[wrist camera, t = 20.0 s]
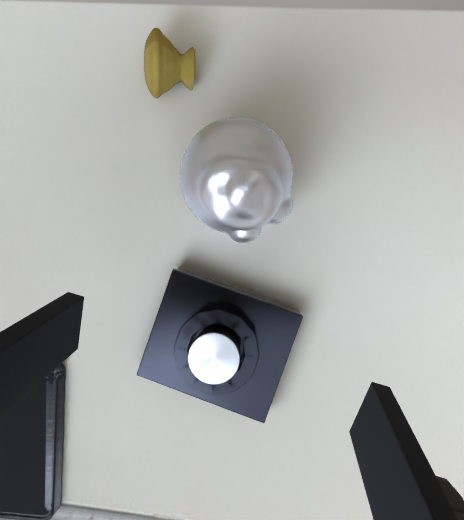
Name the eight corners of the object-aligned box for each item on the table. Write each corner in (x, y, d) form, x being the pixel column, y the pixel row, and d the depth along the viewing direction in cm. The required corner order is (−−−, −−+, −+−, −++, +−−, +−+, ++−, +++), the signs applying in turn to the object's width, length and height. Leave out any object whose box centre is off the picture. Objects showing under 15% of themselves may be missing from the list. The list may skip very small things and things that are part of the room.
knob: (151, 108, 30) (131, 79, 25) (151, 52, 30) (131, 12, 25) (200, 107, 30) (190, 78, 25) (201, 50, 30) (190, 10, 25)
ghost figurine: (186, 238, 30) (154, 231, 21) (196, 137, 30) (169, 80, 20) (282, 248, 30) (297, 245, 20) (293, 145, 30) (315, 90, 20)
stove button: (247, 336, 27) (246, 343, 25) (231, 381, 27) (229, 392, 25) (201, 319, 27) (197, 325, 25) (186, 364, 27) (180, 373, 25)
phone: (58, 365, 30) (53, 523, 31) (65, 361, 31) (60, 513, 32) (-22, 359, 31) (-27, 515, 31) (-12, 355, 32) (-17, 506, 32)
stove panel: (299, 311, 30) (306, 320, 26) (263, 411, 30) (264, 435, 26) (178, 267, 31) (167, 270, 27) (144, 366, 31) (128, 383, 27)
